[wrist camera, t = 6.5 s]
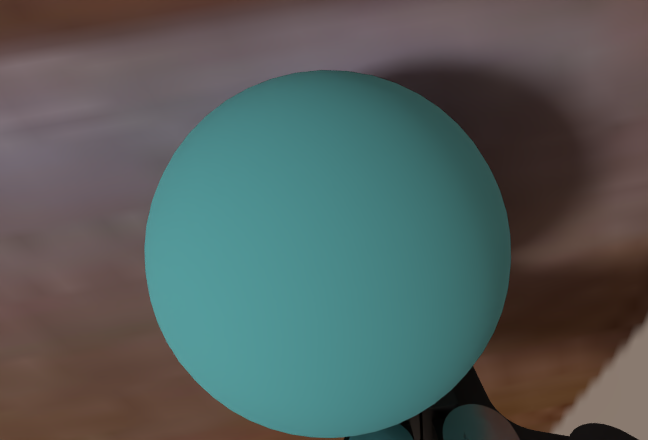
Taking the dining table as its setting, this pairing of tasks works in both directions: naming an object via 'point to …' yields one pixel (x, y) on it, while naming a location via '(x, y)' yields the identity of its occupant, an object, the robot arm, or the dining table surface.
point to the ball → (327, 253)
